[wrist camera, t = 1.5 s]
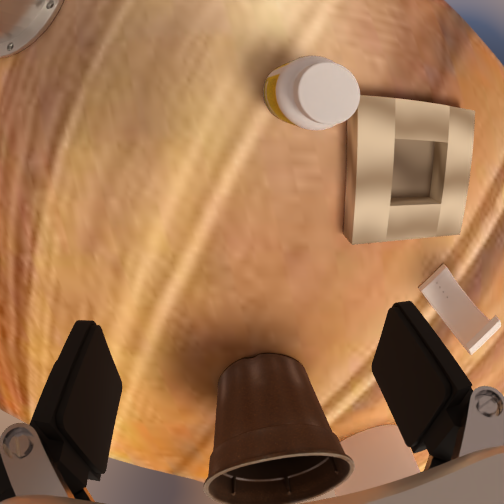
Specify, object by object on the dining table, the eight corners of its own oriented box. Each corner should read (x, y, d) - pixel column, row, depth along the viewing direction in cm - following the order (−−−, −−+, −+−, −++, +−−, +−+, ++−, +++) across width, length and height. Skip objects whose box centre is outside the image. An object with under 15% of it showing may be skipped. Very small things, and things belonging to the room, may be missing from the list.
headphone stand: (443, 263, 36) (500, 319, 25) (457, 288, 38) (507, 342, 27) (418, 287, 37) (468, 349, 26) (434, 310, 39) (479, 368, 29)
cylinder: (385, 456, 61) (418, 549, 36) (318, 470, 59) (343, 574, 34) (414, 417, 53) (463, 526, 29) (337, 433, 51) (376, 564, 27)
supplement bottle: (295, 134, 27) (331, 154, 19) (249, 95, 25) (264, 94, 17) (334, 92, 26) (386, 95, 17) (290, 52, 24) (324, 32, 15)
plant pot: (222, 326, 36) (229, 452, 22) (341, 349, 40) (384, 451, 26) (191, 405, 43) (190, 504, 29) (291, 418, 47) (310, 506, 32)
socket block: (346, 94, 26) (357, 94, 24) (460, 108, 27) (475, 110, 25) (343, 234, 32) (351, 244, 30) (447, 225, 33) (459, 234, 31)
